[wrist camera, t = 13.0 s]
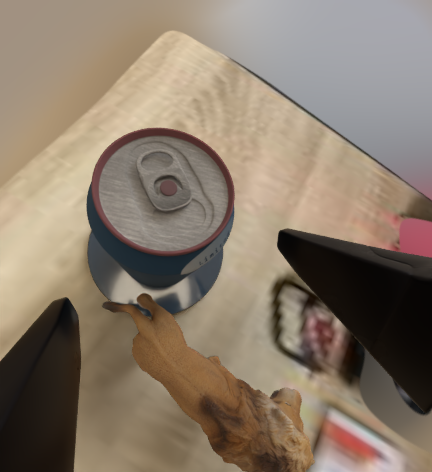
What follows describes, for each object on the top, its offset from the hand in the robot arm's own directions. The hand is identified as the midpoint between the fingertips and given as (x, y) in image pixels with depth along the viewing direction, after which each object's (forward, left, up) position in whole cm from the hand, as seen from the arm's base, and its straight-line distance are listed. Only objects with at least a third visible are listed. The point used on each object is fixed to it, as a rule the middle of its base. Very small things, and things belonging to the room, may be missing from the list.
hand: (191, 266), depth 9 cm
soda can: (+3, 0, -11) cm, 12 cm away
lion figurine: (-6, 0, -12) cm, 13 cm away
